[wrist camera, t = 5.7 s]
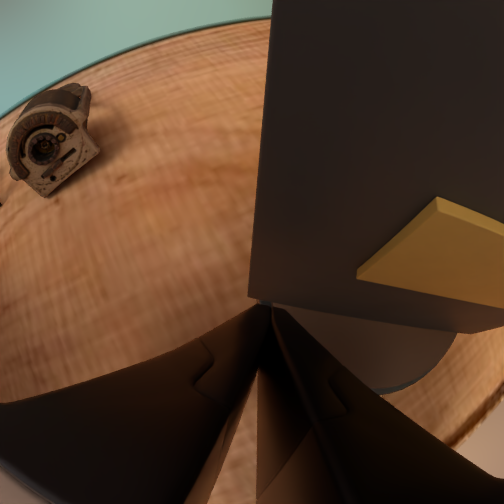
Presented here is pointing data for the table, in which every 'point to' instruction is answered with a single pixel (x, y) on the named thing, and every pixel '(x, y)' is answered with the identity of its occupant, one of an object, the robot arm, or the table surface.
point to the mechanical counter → (51, 138)
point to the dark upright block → (383, 178)
